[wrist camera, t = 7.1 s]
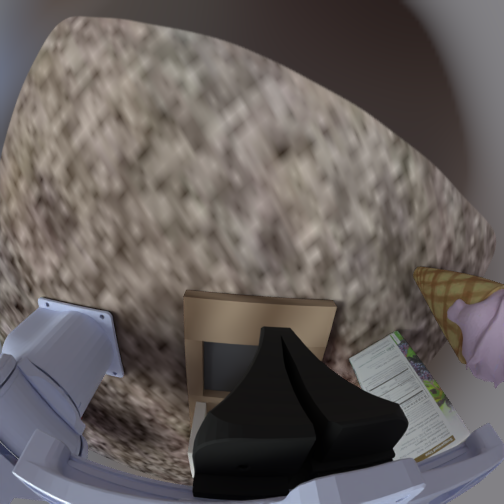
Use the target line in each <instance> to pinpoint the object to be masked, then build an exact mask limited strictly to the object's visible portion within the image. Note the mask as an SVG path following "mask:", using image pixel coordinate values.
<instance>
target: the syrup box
mask: <svg viewBox="0 0 504 504" xmlns="http://www.w3.org/2000/svg"><path fill="white" fill-rule="evenodd" d="M349 361H350V363H351V365H352V368H353V370H354V372H355V374H356V377H357V379H358V381H359V384H360V386H361V388H362V390H364V391H366V392H369V393H371V394H373V395H375V396H378V397H380V398H383V399H386V400H389V401H392V402H395V403H398V404H399V405H400V407H401V409H402V410H403V412H404V414H405V416H406V418H407V419H408V422H409V425H408V428H407V430H406V432H405V434H404V435H403V437H402V438H401V439H400V440H399V442H398V443H397V444H396V445H395V446H394V448H393V450H394V452H395V457H394V458H392V459H393V461H395V460H398V459H404V458H413V459H414V460H415V461H416V463H417V462H420V461H422V460H425V459H427V458H430V457H432V456H435V455H437V454H440V453H442V452H444V451H446V450H449V449H451V448H453V447H455V446H457V445H459V444H461V443H463V442H465V440H466V439H467V438H468V436H469V435H470V434H471V433H470V432H469V430H468V428H467V427H466V425H465V424H464V422H463V421H462V419H461V418H460V416H459V415H458V413H457V412H456V410H455V408H454V407H453V405H452V404H451V402H450V401H449V399H448V398H447V397H446V395H445V394H444V392H443V391H442V389H441V388H440V387H439V385H438V384H437V382H436V381H435V380H434V378H433V377H432V375H431V374H430V372H429V371H428V370H427V368H426V367H425V366H424V364H423V363H422V362H421V360H420V359H419V358H418V356H417V355H416V354H415V352H414V351H413V350H412V349H411V347H410V346H409V345H408V343H407V342H406V341H405V339H404V338H403V337H402V336H401V334H400V333H399V332H398V331H394V332H393V333H391V334H390V335H388V336H386V337H385V338H383V339H381V340H380V341H378V342H376V343H375V344H373V345H371V346H370V347H368V348H366V349H365V350H363V351H361V352H359V353H358V354H356V355H354V356H352V357H351V358H349Z"/></svg>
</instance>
